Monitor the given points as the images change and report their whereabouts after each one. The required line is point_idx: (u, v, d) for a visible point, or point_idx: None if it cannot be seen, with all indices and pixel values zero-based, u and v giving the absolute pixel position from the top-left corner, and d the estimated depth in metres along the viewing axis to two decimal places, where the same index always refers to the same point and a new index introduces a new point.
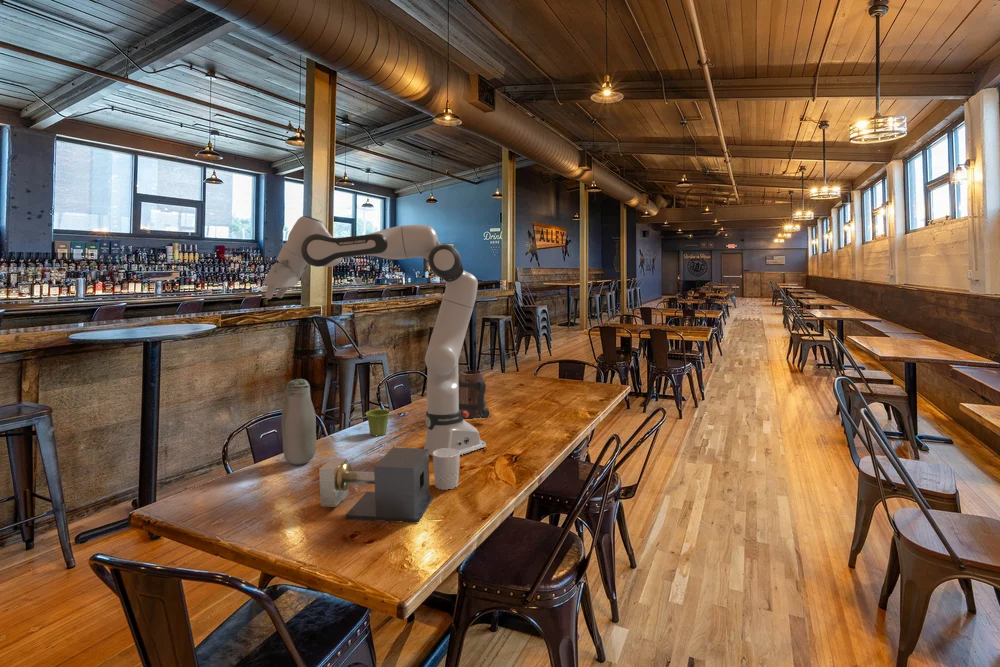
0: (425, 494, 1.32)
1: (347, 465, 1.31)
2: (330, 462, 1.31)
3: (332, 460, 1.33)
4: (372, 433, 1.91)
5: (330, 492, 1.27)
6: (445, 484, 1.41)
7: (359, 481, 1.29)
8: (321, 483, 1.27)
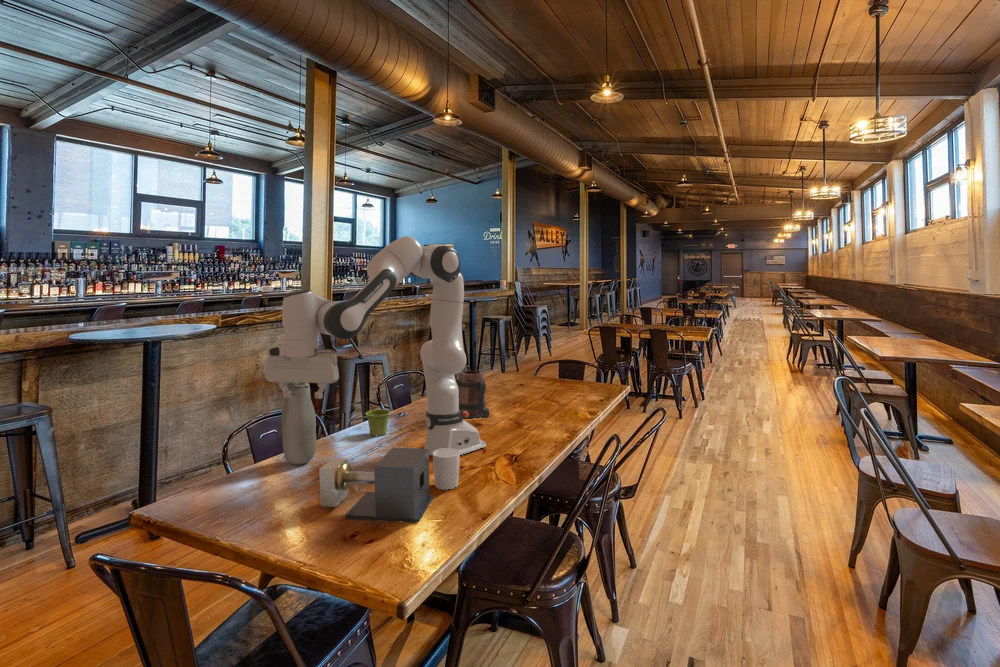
0: (425, 494, 1.32)
1: (347, 465, 1.31)
2: (330, 462, 1.31)
3: (332, 460, 1.33)
4: (372, 433, 1.91)
5: (330, 492, 1.27)
6: (445, 484, 1.41)
7: (359, 481, 1.29)
8: (321, 483, 1.27)
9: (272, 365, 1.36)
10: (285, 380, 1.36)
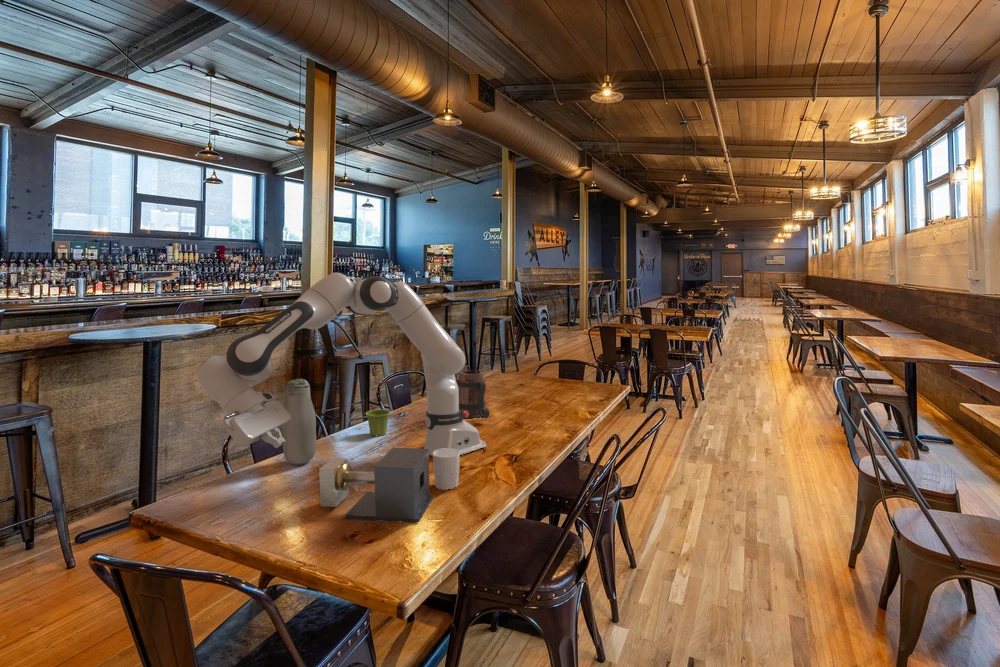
0: (425, 494, 1.32)
1: (347, 465, 1.31)
2: (330, 462, 1.31)
3: (332, 460, 1.33)
4: (372, 433, 1.91)
5: (330, 492, 1.27)
6: (445, 484, 1.41)
7: (359, 481, 1.29)
8: (321, 483, 1.27)
9: None
10: None
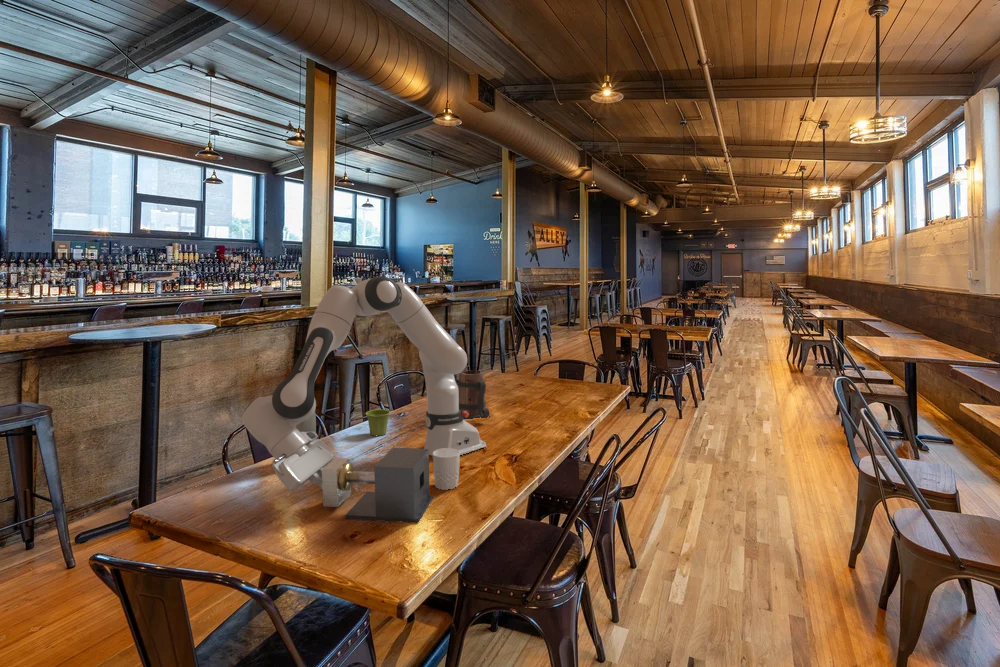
0: (425, 494, 1.32)
1: (349, 465, 1.31)
2: (332, 462, 1.31)
3: (334, 460, 1.33)
4: (372, 433, 1.91)
5: (333, 492, 1.27)
6: (445, 484, 1.41)
7: (361, 481, 1.29)
8: (323, 483, 1.27)
9: None
10: None
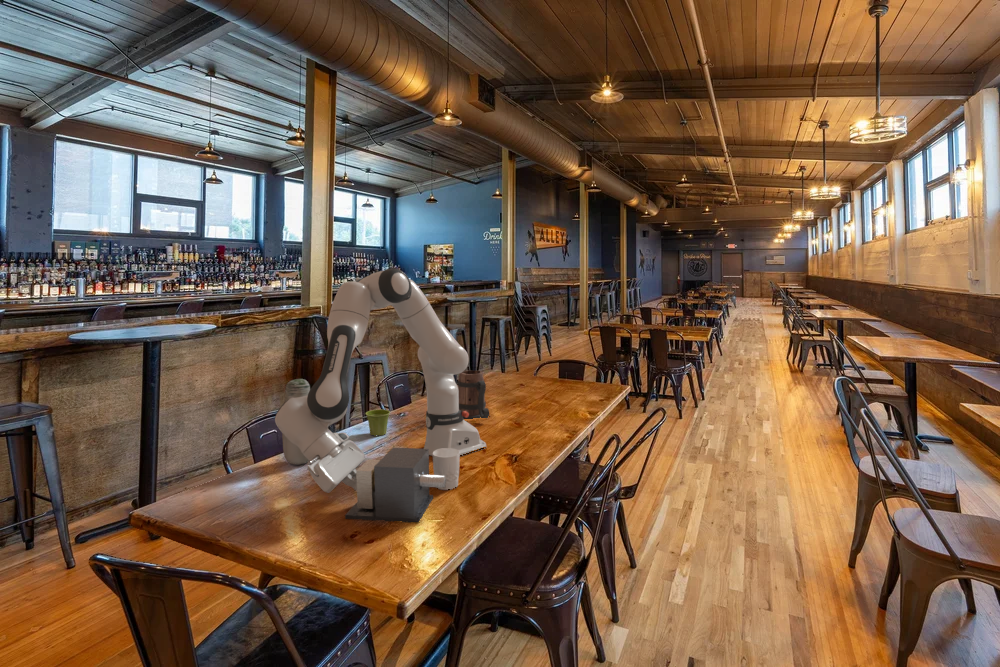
0: (425, 494, 1.32)
1: None
2: (366, 464, 1.30)
3: (367, 462, 1.32)
4: (372, 433, 1.91)
5: (367, 494, 1.26)
6: (445, 484, 1.41)
7: None
8: (358, 485, 1.26)
9: None
10: None
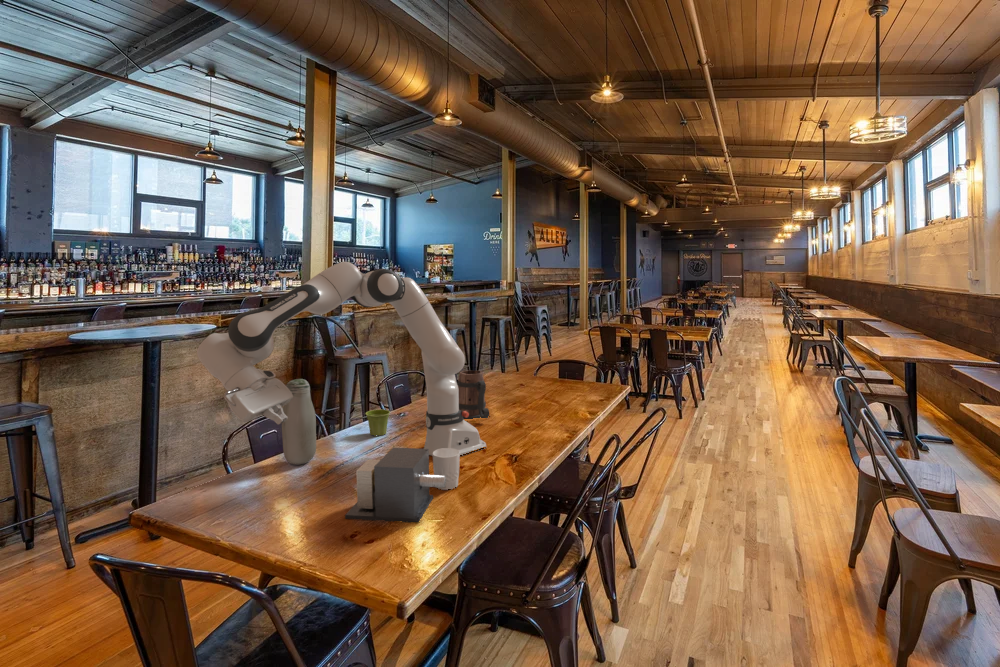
0: (425, 494, 1.32)
1: None
2: (366, 464, 1.30)
3: (368, 462, 1.32)
4: (372, 433, 1.91)
5: (368, 494, 1.26)
6: (445, 484, 1.41)
7: None
8: (358, 485, 1.26)
9: None
10: None
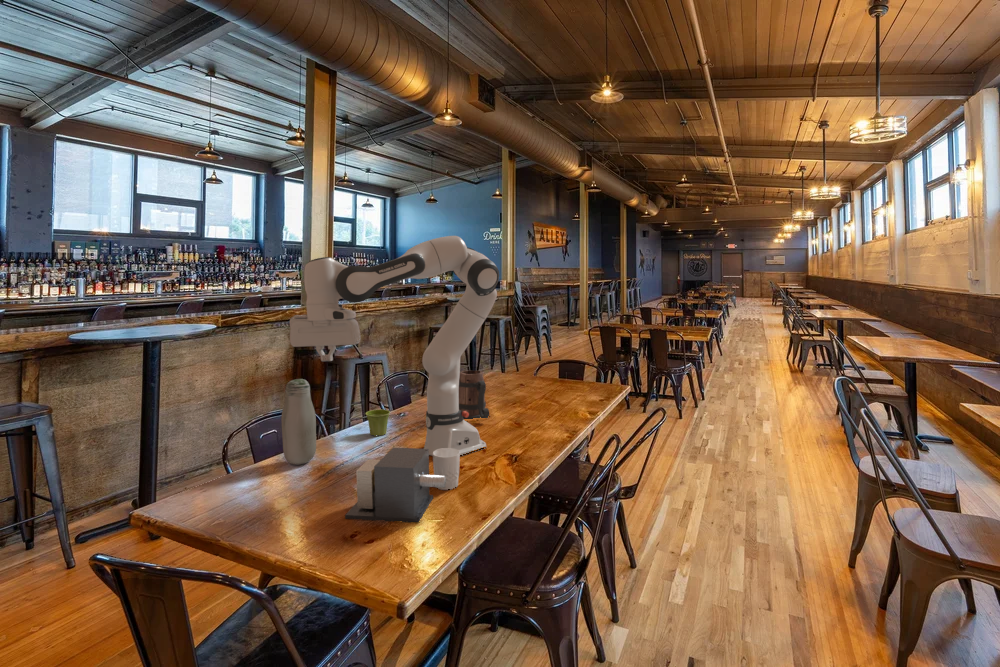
0: (425, 494, 1.32)
1: None
2: (366, 464, 1.30)
3: (368, 462, 1.32)
4: (372, 433, 1.91)
5: (368, 494, 1.26)
6: (445, 484, 1.41)
7: None
8: (358, 485, 1.26)
9: None
10: None
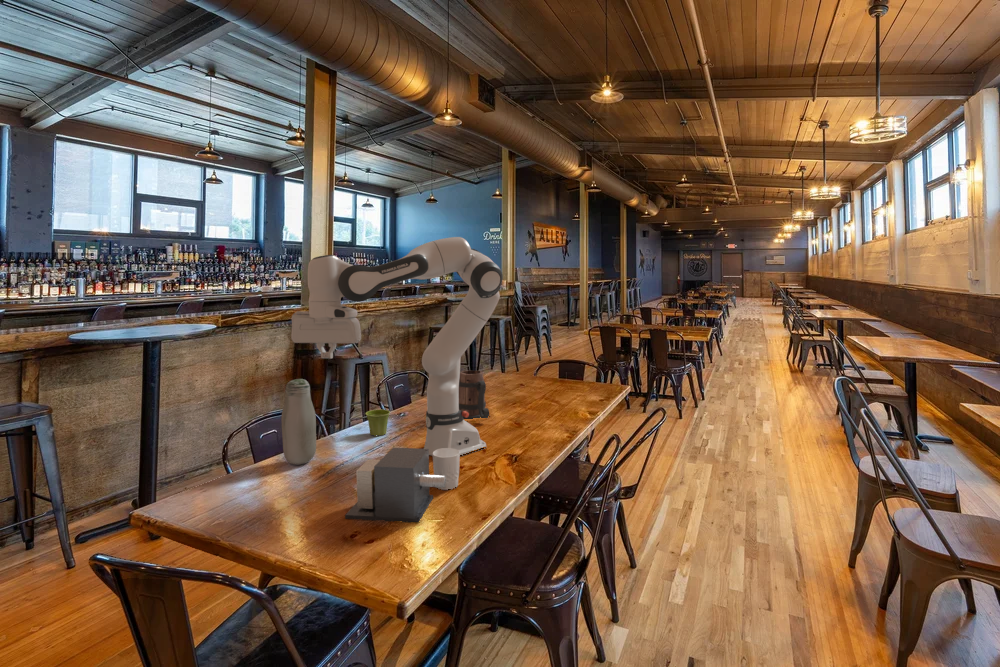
0: (425, 494, 1.32)
1: None
2: (366, 464, 1.30)
3: (368, 462, 1.32)
4: (372, 433, 1.91)
5: (368, 494, 1.26)
6: (445, 484, 1.41)
7: None
8: (358, 485, 1.26)
9: None
10: None
